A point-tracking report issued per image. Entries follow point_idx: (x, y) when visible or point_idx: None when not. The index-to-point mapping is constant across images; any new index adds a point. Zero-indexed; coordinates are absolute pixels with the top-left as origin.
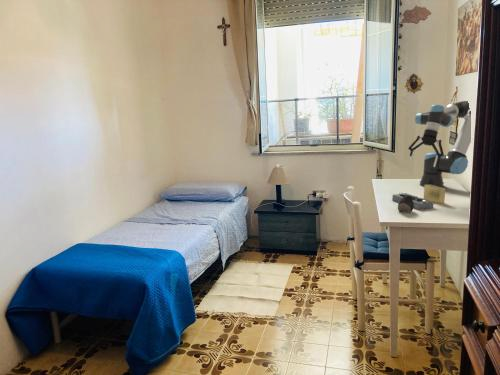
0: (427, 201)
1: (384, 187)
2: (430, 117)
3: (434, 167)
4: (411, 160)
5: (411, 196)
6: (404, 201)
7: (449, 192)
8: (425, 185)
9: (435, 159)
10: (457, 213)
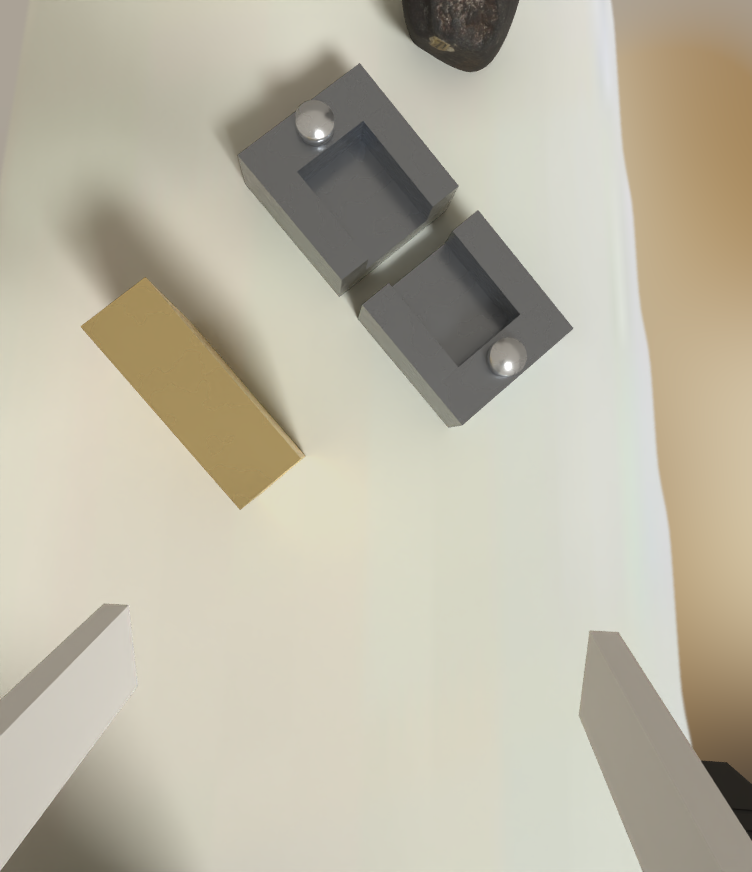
0: (288, 152)
1: None
2: None
3: None
4: (605, 643)
5: (416, 318)
6: None
7: None
8: (292, 448)
9: (23, 783)
10: (73, 58)
